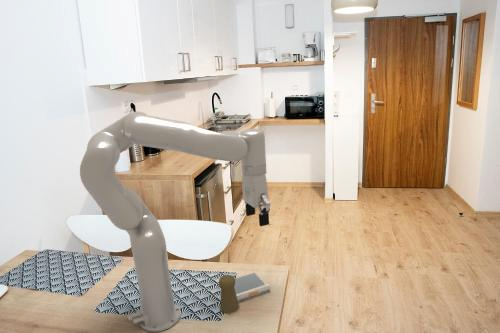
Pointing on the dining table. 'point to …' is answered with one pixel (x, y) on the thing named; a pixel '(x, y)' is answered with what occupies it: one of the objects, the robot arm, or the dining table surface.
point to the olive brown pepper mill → (228, 294)
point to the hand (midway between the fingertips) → (257, 219)
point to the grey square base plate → (250, 287)
